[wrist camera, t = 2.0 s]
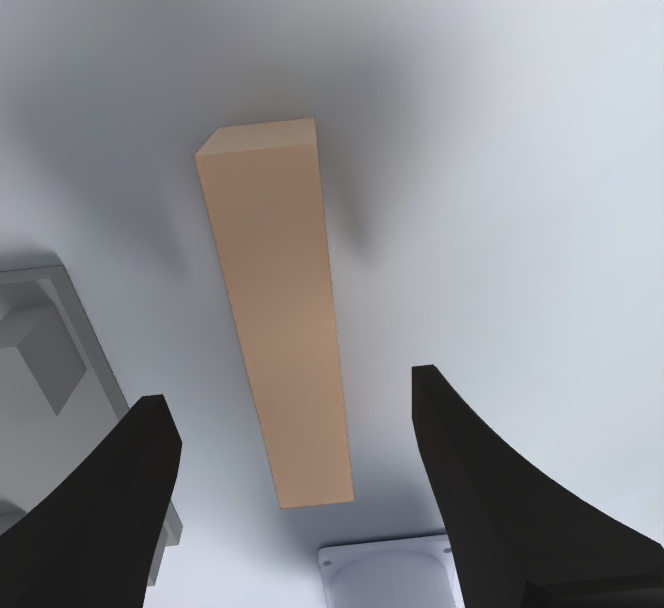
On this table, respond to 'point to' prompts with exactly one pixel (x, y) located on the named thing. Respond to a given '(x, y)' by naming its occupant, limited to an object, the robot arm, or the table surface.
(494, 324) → the table surface
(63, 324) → the plate with corner studs
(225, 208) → the light brown rectangular bar
